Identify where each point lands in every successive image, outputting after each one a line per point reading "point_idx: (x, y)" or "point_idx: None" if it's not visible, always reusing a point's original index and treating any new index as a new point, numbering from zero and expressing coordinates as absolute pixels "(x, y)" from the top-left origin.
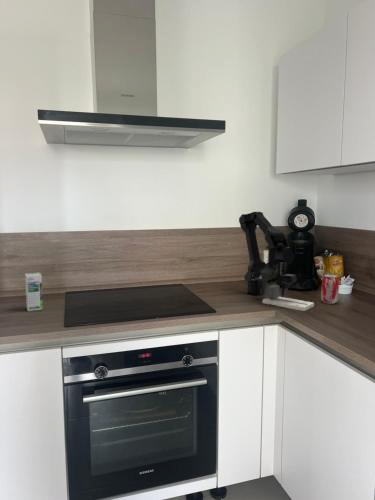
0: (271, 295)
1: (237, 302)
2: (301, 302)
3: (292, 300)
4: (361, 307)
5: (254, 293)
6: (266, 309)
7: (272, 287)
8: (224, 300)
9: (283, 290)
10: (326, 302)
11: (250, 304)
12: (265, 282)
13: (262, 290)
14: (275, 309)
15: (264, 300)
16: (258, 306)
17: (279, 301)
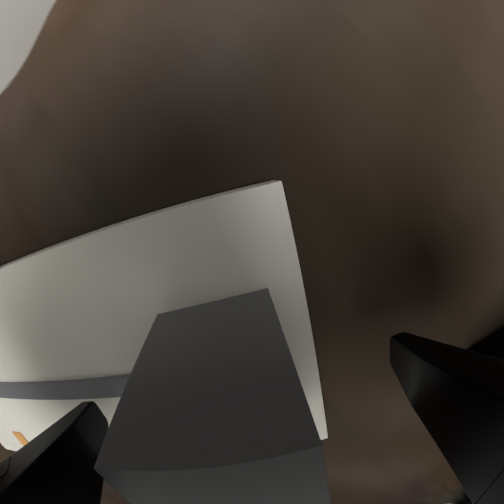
0: (190, 330)
1: (429, 9)
2: (11, 416)
3: None
4: None
5: (493, 352)
6: (57, 34)
7: (144, 469)
8: (497, 18)
9: (22, 458)
10: None
11: (310, 16)
12: (480, 490)
13: (438, 347)
14: (7, 118)
15: (245, 188)
16: (185, 22)
17: (73, 310)
